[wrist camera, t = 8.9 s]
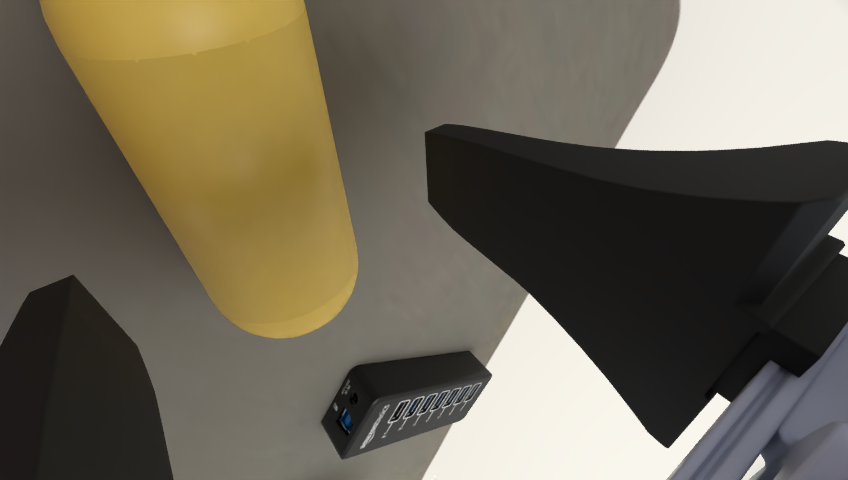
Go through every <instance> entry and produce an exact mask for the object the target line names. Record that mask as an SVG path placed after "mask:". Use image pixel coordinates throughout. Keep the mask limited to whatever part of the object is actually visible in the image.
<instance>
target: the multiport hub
mask: <svg viewBox="0 0 848 480" xmlns="http://www.w3.org/2000/svg"><path fill="white" fill-rule="evenodd" d="M491 377H492V374H491V373H490V372H489V371H488V370H487V369H486V368H485V366H484V365H483V364H482V363H481V362H480V361H479V360H478V359H477V358H476V357H475V356H474V355H473V354H472V353H471V352H470V351H468V352H461V353H453V354H445V355H438V356H430V357H422V358H415V359H407V360H400V361H392V362H384V363H377V364H369V365H361V366H357V367H355V368H354V369H352V370H351V372H350V373H349V375H348V376H347V378H346V380H345V382H344V384H343V385H342V387H341V389H340V391H339V393H338V394H337V396H336V398H335V400H334V402H333V404H332V405H331V407H330V409H329V411H328V413H327V414H326V416H325V418H324V420H323V422H322V426H323V427H324V429H325V431H326V433H327V434H328V436H329V438H330V440H331V442H332V443H333V445H334V447H335V449H336V450H337V452H338V454H339V456H340V458H341V459H347V458H350V457H353V456H356V455H359V454H362V453H365V452H368V451H371V450H374V449H377V448H380V447H383V446H386V445H389V444H392V443H395V442H398V441H401V440H404V439H407V438H410V437H413V436H416V435H419V434H422V433H425V432H428V431H431V430H434V429H437V428H440V427H443V426H446V425H449V424H452V423H455V422H458V421H460V420H462V419H463V418H464V417H465V416H466V414H467V413H468V411H469V410H470V408H471V407H472V405H473V404H474V403H475V401H476V400H477V398H478V397H479V395H480V394H481V392H482V391H483V389H484V388H485V386H486V385H487V383H488V382H489V380H490V379H491Z"/></svg>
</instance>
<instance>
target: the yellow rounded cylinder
mask: <svg viewBox="0 0 848 480" xmlns="http://www.w3.org/2000/svg"><path fill="white" fill-rule="evenodd" d="M39 1H40V5H41V9H42V13H43V17H44V19H45V21H46V23H47V25H48V27H49V29H50V32H51V34H52V36H53V38H54V40H55V42H56V44H57V46H58V48H59V50H60V51H61V53H62V55H63V56H64V58H65V60H66V61H67V63H68V65H69V66H70V68H71V69H72V71H73V73H74V74H75V76H76V78H77V79H78V81H79V83H80V84H81V86H82V88H83V89H84V91H85V92H86V94H87V96H88V97H89V99H90V101H91V102H92V104H93V106H94V107H95V109H96V111H97V112H98V114H99V115H100V117H101V119H102V120H103V122H104V124H105V125H106V127H107V129H108V130H109V132H110V134H111V135H112V137H113V139H114V140H115V142H116V143H117V145H118V147H119V148H120V150H121V152H122V153H123V155H124V157H125V158H126V160H127V162H128V163H129V165H130V166H131V168H132V170H133V171H134V173H135V175H136V176H137V178H138V180H139V181H140V183H141V185H142V186H143V188H144V189H145V191H146V193H147V194H148V196H149V198H150V199H151V201H152V203H153V204H154V206H155V208H156V209H157V211H158V213H159V214H160V216H161V217H162V219H163V221H164V222H165V224H166V226H167V227H168V229H169V231H170V232H171V234H172V236H173V237H174V239H175V240H176V242H177V244H178V245H179V247H180V249H181V250H182V252H183V254H184V255H185V257H186V259H187V260H188V262H189V263H190V265H191V267H192V268H193V270H194V272H195V273H196V275H197V277H198V278H199V280H200V282H201V283H202V285H203V287H204V288H205V290H206V291H207V293H208V295H209V296H210V298H211V300H212V301H213V303H214V305H215V306H216V307H217V308H218V310H219V311H220V312H221V313H222V314H223V316H224V317H226V318H227V319H228V320H229V321H230V322H232V323H233V324H234V325H236V326H238V327H239V328H241V329H243V330H245V331H247V332H249V333H251V334H255V335H259V336H264V337H268V338H282V339H283V338H291V337H297V336H300V335H303V334H307V333H309V332H312V331H314V330H316V329H318V328H320V327H322V326H323V325H325V324H326V323H328V322H329V321H330V320H332V319H333V318H334V317H335V316H336V315H337V314H338V313H339V312H340V311H341V309H342V308H343V307H344V306H345V304H346V302H347V301H348V299H349V297H350V295H351V293H352V291H353V289H354V286H355V282H356V278H357V273H358V253H357V246H356V242H355V237H354V232H353V228H352V223H351V218H350V214H349V209H348V204H347V199H346V195H345V190H344V185H343V181H342V176H341V171H340V167H339V162H338V157H337V152H336V148H335V143H334V138H333V134H332V129H331V124H330V120H329V115H328V110H327V105H326V101H325V96H324V91H323V87H322V82H321V77H320V73H319V68H318V63H317V58H316V54H315V49H314V44H313V40H312V35H311V30H310V26H309V21H308V16H307V11H306V7H305V3H304V0H39Z"/></svg>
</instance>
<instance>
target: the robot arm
mask: <svg viewBox="0 0 848 480" xmlns="http://www.w3.org/2000/svg"><path fill="white" fill-rule="evenodd" d="M425 145H426V166H427V186H428V202H429V203H430V204H431V206H432V207H433V208H434V209H435V210H436V211H437V213H438V214H439V215H440V216H441V217H442V218H443V219H444V220H445V221H446V222H447V224H448V225H449V226H450V227H451V228H452V229H453V230H454V231H456V232H457V233H458V234H459V235H460V236H461V237H463V238H464V239H465V240H466V241H467V242H469V243H470V244H471V245H472V246H473V247H475V248H476V249H477V250H478V251H479V252H481V253H482V254H483V255H484V256H486V257H487V258H488V259H489V260H490V261H492V262H493V263H494V264H495V265H497V266H498V267H499V268H500V269H502V270H503V271H504V272H505V273H506V274H508V275H509V276H510V277H511V278H513V279H514V280H515V281H516V282H517V283H518V284H520V285H521V286H522V287H523V288H524V289H525V290H526V291H527V292H529V293H530V294H531V295H532V296H533V297H534V298H535V299H536V300H537V302H539V304H540V305H541V306H543V308H544V309H545V310H547V312H548V313H549V314H550V315H551V316H552V317H553V318H554V319H555V320H556V321H557V322H558V323H559V324H560V325H561V326H562V327H563V329H564V330H565V331H566V332H567V333H568V334H569V335H570V336H571V337H572V338H573V340H575V342H576V343H577V344H578V345H579V346H580V347H581V348H582V350H583V351H584V352H585V353H586V354H587V355H588V357H589V358H590V359H591V360H592V361H593V362H594V364H595V365H596V366H597V367H598V368H599V370H601V372H602V373H603V374H604V375H605V377H606V378H607V379H608V380H609V382H610V383H611V384H612V385H613V387H614V388H615V389H616V390H617V392H618V393H619V394H620V396H621V397H622V398H623V400H624V401H625V402H626V403H627V405H628V406H629V407H630V409H631V410H632V411H633V412H634V414H635V415H636V416H637V418H638V419H639V420H640V422H641V423H642V425H643V426H644V427H645V429H646V430H647V432H648V433H649V434H650V435H652V436H653V437H654V438H655V439H656V440H657V441H659V442H660V443H661V444H662V445H663V446H665V447H666V448H669V447H670V446H671V445H672V444H673V443H674V441H675V440H676V439H677V438H678V437H679V436H680V435H681V433H682V432H683V431H684V430H685V429H686V427H688V425H689V424H690V423H691V422H692V421H693V420H694V418H696V416H697V415H698V414H699V413H700V412H701V411H702V410H703V408H704V407H705V406H706V405H707V404H708V403H709V402H710V400H711V399H712V398H713V397H714V396H715V395H716V393H718V394H720V395H721V396H723V397H724V398H725V399H727V400H728V401H730V402H731V403H730V405H729V406H728V407H727V408H726V409H725V411H724V412H723V413H722V414H721V415H720V417H719V418H718V419H717V420H716V422H715V423H714V424H713V425H712V426H711V427H710V429H709V430H708V431H707V432H706V434H705V435H704V436H703V437H702V438H701V439H700V440H699V442H698V443H697V444H696V445H695V446H694V448H693V449H692V450H691V451H690V452H689V454H688V455H687V456H686V457H685V458H684V460H683V461H682V462H681V463H680V464H679V465H678V467H677V468H676V469H675V470H674V471H673V473H672V474H671V475H670V476H669V477H668V479H667V480H741V479H742V478H743V477H744V475H745V474H746V473H747V471H748V470H749V468H750V467H751V466H752V464H753V463H754V462H755V460H756V459H757V457H758V456H759V455H760V454H761V455H762V457H763V458H764V460H765V466H764V467H763V468H762V469H761V470H760V471H758V472H757V473H756V474H755V475H754V476H752V477H751V478H750V479H749V480H848V257H846V256H843V255H841V254H839V252H840V251H841V250H842V249H843V248H844V246H845V244H844V242H843V241H841V240H839V239H837V238H834V237H832V236H830V235H828V233H829V232H830V231H831V230H832V228H833V227H834V226H835V225H836V224H837V222H838V221H839V220H840V219H841V217H842V216H843V215H844V214H845V212H846V211H847V210H848V143H847V142H838V141H828V140H827V141H818V142H808V143H800V144H790V145H781V146H773V147H762V148H748V149H731V150H709V151H648V150H628V149H615V148H602V147H592V146H584V145H577V144H569V143H562V142H555V141H549V140H543V139H537V138H531V137H526V136H520V135H515V134H509V133H504V132H499V131H493V130H488V129H482V128H476V127H470V126H463V125H454V124H444V125H441V126H439V127H436V128H434V129H431V130H429V131H426V132H425ZM0 480H173V475H172V470H171V466H170V461H169V456H168V451H167V446H166V441H165V437H164V432H163V427H162V423H161V418H160V413H159V409H158V404H157V400H156V395H155V391H154V388H153V386H152V383H151V380H150V378H149V375H148V372H147V369H146V367H145V364H144V362H143V359H142V357H141V354H140V352H139V349H138V347H137V345H136V344H135V343H134V342H133V341H132V340H131V338H130V337H129V336H128V335H127V334H126V333H125V332H124V331H123V329H122V328H121V327H120V326H119V325H118V324H117V323H116V322H115V321H114V319H113V318H112V317H111V316H110V315H109V314H108V313H107V312H106V311H105V309H104V308H103V307H102V306H101V305H100V304H99V303H98V302H97V301H96V299H95V298H94V297H93V296H92V295H91V294H90V293H89V292H88V291H87V289H86V288H85V287H84V286H83V285H82V284H81V283H80V282H79V281H78V279H77V278H76V277H75V276H74V275H71V276H69V277H67V278H64V279H62V280H59V281H57V282H54V283H52V284H49V285H47V286H44V287H42V288H39V289H37V290H34V291H32V292H30V293H29V294H28V296H27V297H26V299H25V301H24V302H23V304H22V306H21V308H20V310H19V312H18V314H17V315H16V317H15V319H14V321H13V323H12V325H11V327H10V329H9V331H8V333H7V335H6V336H5V338H4V340H3V342H2V344H1V346H0Z"/></svg>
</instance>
